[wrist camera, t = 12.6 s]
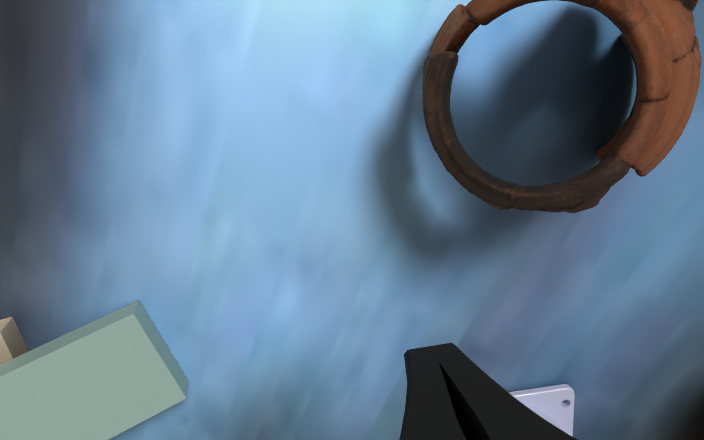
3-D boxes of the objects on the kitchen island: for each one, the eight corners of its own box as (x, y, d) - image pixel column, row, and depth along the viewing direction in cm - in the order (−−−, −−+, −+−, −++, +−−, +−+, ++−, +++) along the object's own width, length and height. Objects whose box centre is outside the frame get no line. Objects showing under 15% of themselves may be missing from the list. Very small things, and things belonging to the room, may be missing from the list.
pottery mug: (579, 217, 21) (577, 289, 14) (421, 121, 23) (353, 143, 17) (800, -42, 15) (979, -132, 8) (562, -138, 18) (548, -274, 11)
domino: (186, 398, 21) (12, 490, 19) (187, 379, 22) (26, 463, 20) (133, 313, 19) (-62, 405, 17) (138, 299, 20) (-40, 383, 19)
